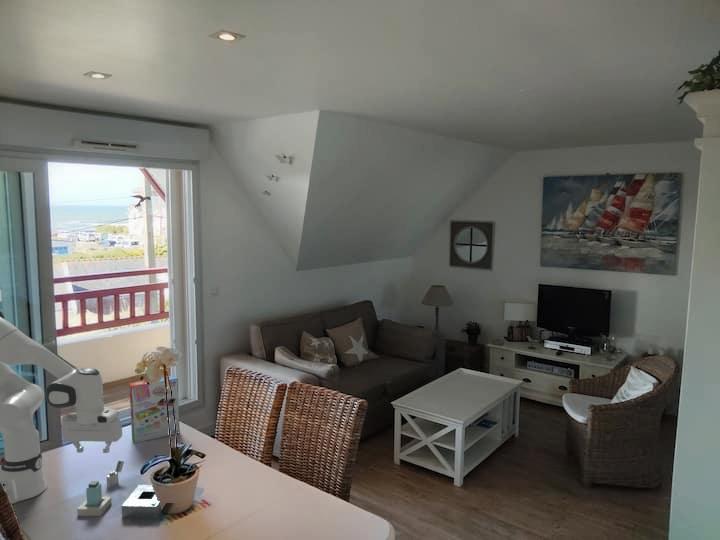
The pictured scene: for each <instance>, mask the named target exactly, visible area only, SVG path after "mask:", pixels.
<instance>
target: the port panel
mask: <svg viewBox="0 0 720 540" xmlns="http://www.w3.org/2000/svg"><path fill="white" fill-rule="evenodd" d="M152 485H153V484H138V485H137V487H135V489H134V490H133V491H132V492H131V494H130V495H129V496H128V498H126V500H125V501H124V502H123V504H122V505H121V518H122V519H140V520H141V519H142V520H143V519H144V520H145V519H148V520H150V519H151V520H157V519H158V517H159V516H160V515H161V513H162V512H161V506H160V501H158V500H157V497H156V495H155V492H154V490H153V487H152Z"/></svg>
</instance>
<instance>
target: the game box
mask: <svg viewBox="0 0 720 540" xmlns="http://www.w3.org/2000/svg"><path fill="white" fill-rule="evenodd" d="M168 377H169V380H170V385H171V390H172V397H173V404H174V415H175V420H176V428H177V433H178V432H179V433H178V434H181V430H180V412H179V411H180V410H179V380H178V377H177V376H176V375H170V376H169V375H168ZM161 378H162V379H161V380H160V381H159V382H158V383H156V384H152V385H148V384H147V383H146V382H144V381H145V380H139V381H135V382H129V384H128V385H129V402H130V403H129V406H130V407H129V408H130V425H131V428H130V429H131V440H132V442H133V443H132V444H137V443H141V442H147V441H150V440H151V441H152V440H155V439H159V438H160V439H161V438H164V437H169V436H168V420H167V404H166V392H165V381H164V377H161ZM167 395H168V411H169V418H170V431H171V435H170V436H173V435H176V434H175V429H174V416H173V406H172V397H171V391H170V388H169V387H168V389H167Z"/></svg>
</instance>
